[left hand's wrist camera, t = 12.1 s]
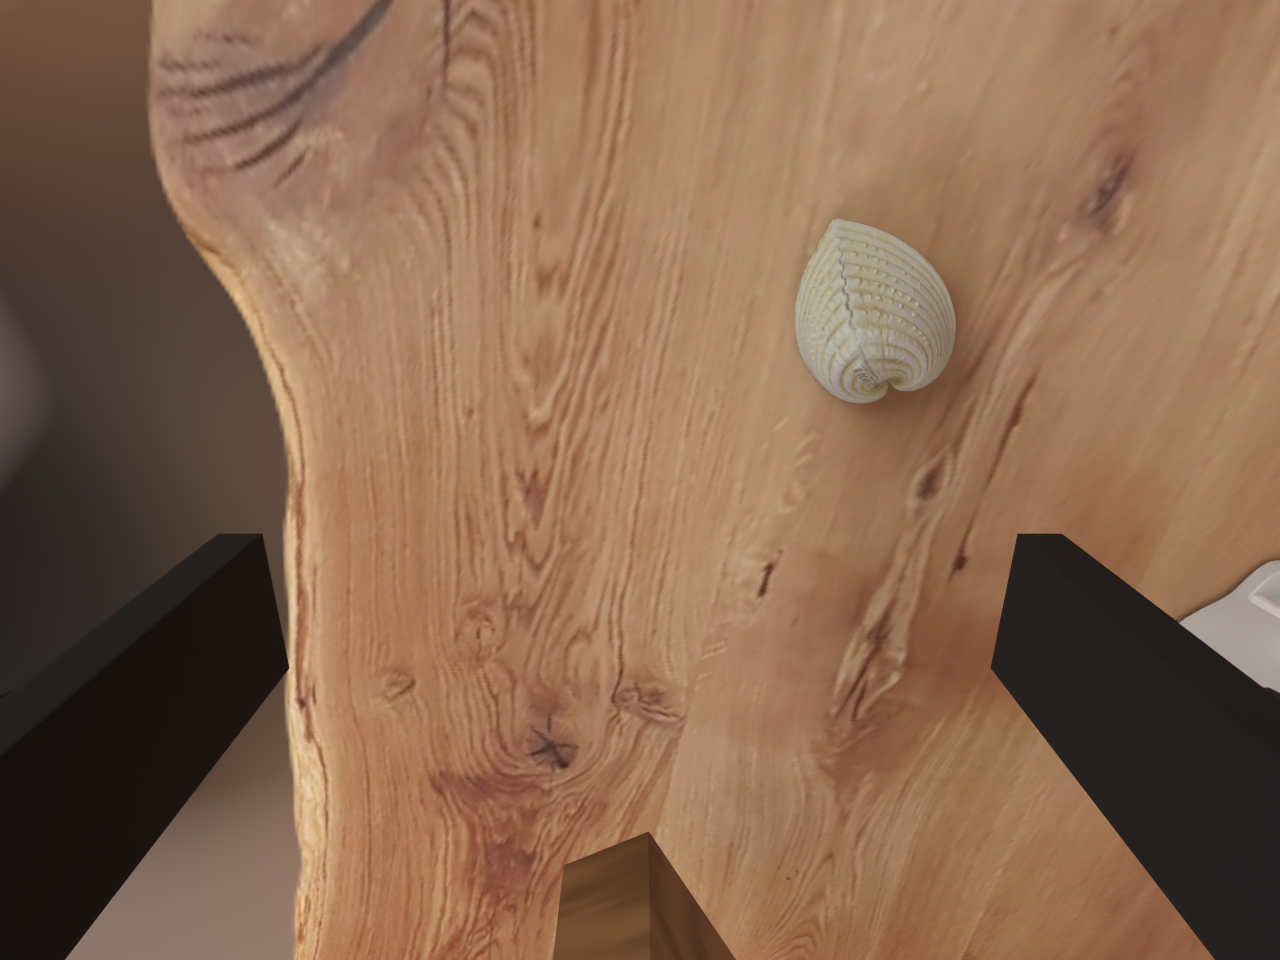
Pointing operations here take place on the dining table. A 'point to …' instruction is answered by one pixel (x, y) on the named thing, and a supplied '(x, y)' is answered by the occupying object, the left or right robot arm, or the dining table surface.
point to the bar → (631, 909)
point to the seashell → (872, 315)
